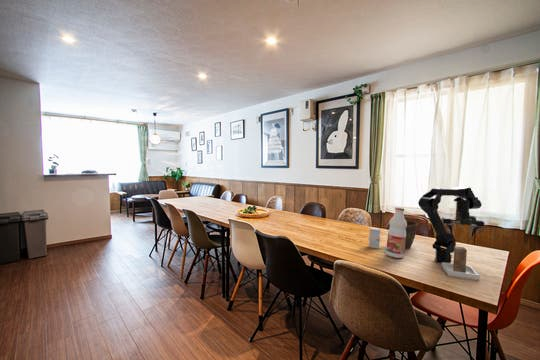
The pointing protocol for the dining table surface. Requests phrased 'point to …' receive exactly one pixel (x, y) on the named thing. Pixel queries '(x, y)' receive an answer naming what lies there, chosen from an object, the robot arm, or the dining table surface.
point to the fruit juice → (397, 234)
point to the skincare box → (374, 238)
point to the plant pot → (410, 233)
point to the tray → (468, 275)
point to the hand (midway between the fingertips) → (461, 236)
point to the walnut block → (459, 259)
